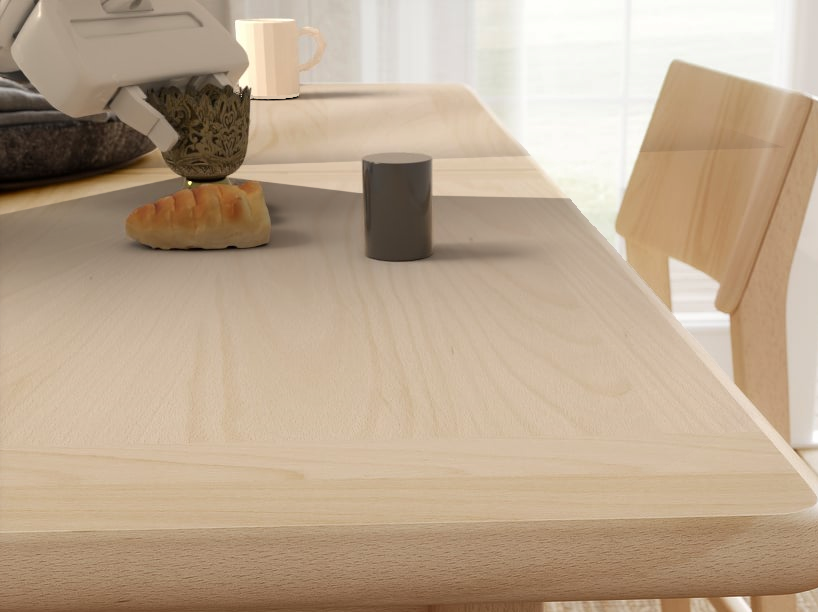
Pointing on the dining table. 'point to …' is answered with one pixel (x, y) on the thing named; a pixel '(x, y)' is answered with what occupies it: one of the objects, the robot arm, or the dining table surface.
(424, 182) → the dark gray cylinder
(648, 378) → the dining table surface
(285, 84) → the mug
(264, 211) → the pastry
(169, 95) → the cup
